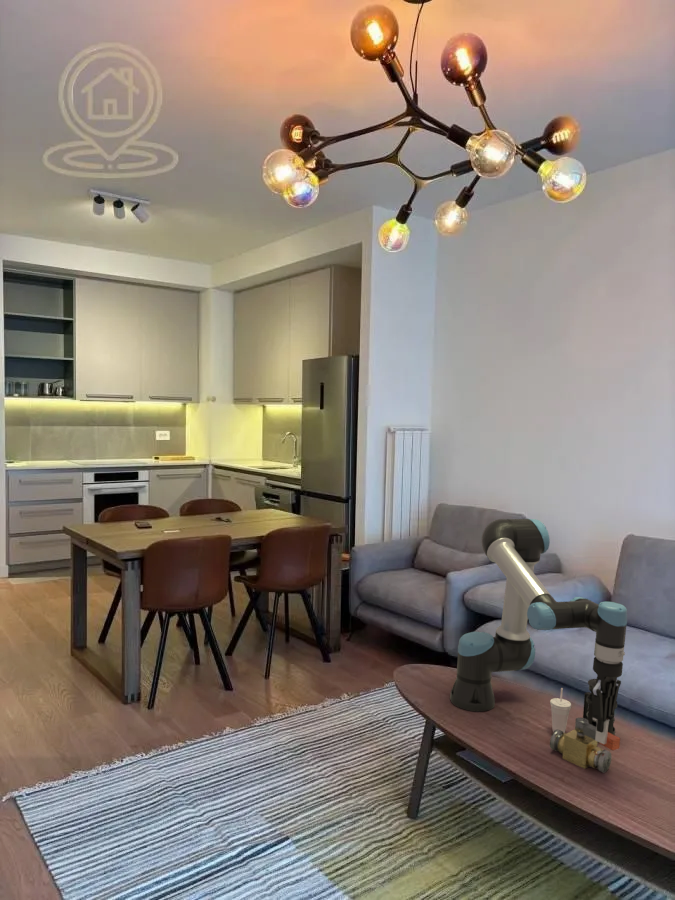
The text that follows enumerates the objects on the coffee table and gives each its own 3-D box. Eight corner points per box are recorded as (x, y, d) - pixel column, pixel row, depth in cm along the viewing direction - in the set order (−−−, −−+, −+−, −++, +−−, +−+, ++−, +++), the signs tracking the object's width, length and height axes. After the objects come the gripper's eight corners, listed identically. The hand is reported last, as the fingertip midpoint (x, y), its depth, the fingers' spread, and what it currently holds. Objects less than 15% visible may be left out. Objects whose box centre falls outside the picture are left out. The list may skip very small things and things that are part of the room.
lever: (572, 729, 197) (573, 719, 197) (580, 727, 199) (581, 716, 198) (611, 750, 185) (612, 739, 185) (620, 748, 187) (621, 736, 187)
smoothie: (570, 730, 215) (573, 687, 214) (568, 738, 210) (571, 695, 209) (549, 725, 218) (552, 683, 217) (546, 733, 212) (549, 690, 211)
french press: (623, 742, 209) (629, 670, 207) (601, 747, 205) (606, 673, 204) (594, 725, 220) (600, 656, 218) (572, 729, 216) (578, 659, 214)
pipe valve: (548, 752, 201) (550, 723, 200) (560, 745, 205) (562, 718, 204) (600, 775, 189) (602, 745, 188) (610, 768, 193) (613, 739, 192)
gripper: (609, 668, 179) (601, 754, 181) (632, 659, 188) (625, 741, 189) (583, 659, 185) (576, 742, 187) (607, 650, 193) (599, 730, 195)
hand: (600, 741), depth 188 cm, fingers closed
